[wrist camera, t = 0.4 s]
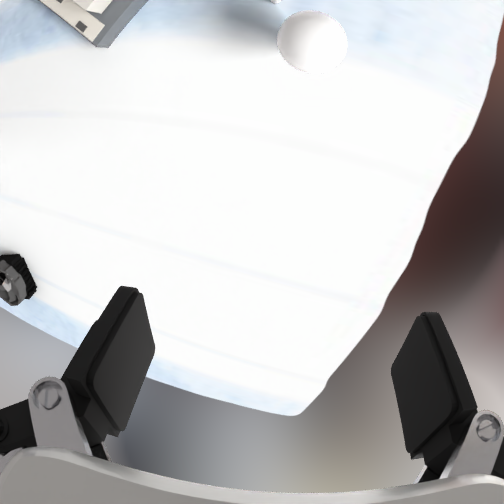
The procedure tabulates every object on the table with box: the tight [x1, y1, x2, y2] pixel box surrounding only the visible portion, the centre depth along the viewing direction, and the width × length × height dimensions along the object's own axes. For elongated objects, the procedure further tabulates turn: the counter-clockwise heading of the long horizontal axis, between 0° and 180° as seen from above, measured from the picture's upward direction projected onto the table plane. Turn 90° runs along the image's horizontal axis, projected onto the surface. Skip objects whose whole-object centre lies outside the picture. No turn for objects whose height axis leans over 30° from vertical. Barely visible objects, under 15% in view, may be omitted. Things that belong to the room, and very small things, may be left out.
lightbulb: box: [277, 10, 347, 73], centre depth 25 cm, size 6×6×11 cm
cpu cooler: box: [0, 254, 37, 306], centre depth 50 cm, size 10×6×10 cm
